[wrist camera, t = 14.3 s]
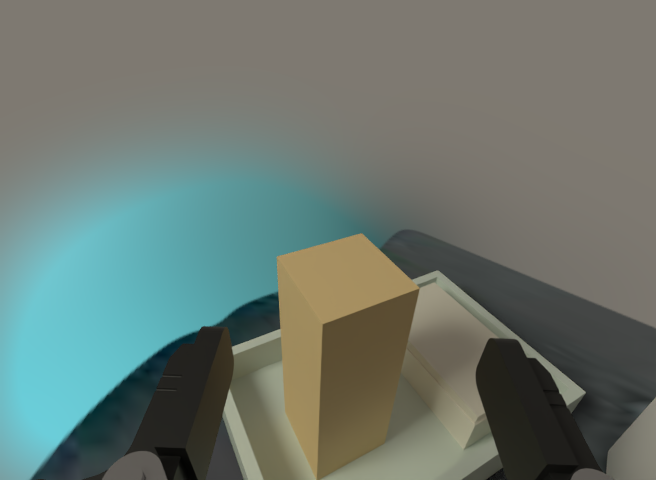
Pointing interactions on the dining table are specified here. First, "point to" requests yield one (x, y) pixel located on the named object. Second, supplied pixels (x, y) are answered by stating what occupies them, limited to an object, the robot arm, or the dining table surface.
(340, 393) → the juice carton
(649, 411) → the container
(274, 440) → the tray
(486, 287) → the dining table surface
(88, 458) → the dining table surface
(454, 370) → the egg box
